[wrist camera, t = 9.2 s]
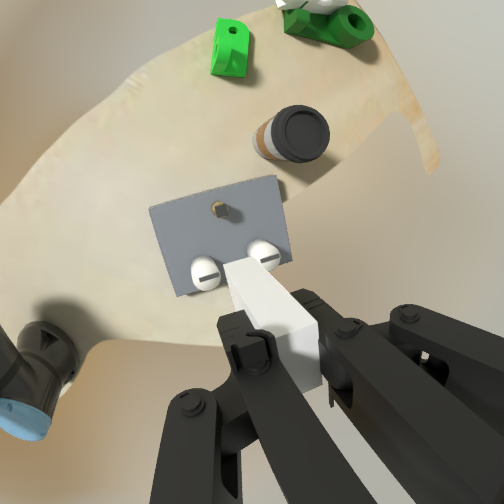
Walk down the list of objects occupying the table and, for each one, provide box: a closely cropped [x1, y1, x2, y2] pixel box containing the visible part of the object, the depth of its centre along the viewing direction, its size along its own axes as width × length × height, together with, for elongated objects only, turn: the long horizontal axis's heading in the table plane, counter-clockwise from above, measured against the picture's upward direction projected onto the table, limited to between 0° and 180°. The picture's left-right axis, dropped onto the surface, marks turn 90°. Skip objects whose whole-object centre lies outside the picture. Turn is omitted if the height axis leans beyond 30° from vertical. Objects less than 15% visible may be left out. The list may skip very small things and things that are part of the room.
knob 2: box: [246, 238, 280, 272], centre depth 48 cm, size 4×4×8 cm
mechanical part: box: [210, 18, 249, 78], centre depth 37 cm, size 12×6×8 cm, turn 177°
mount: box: [148, 175, 292, 297], centre depth 48 cm, size 22×16×3 cm
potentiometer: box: [211, 201, 229, 218], centre depth 44 cm, size 2×2×4 cm
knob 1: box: [190, 255, 221, 291], centre depth 46 cm, size 4×4×8 cm
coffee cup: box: [253, 105, 330, 163], centre depth 41 cm, size 8×8×15 cm
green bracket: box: [284, 1, 374, 48], centre depth 40 cm, size 18×9×6 cm, turn 89°
